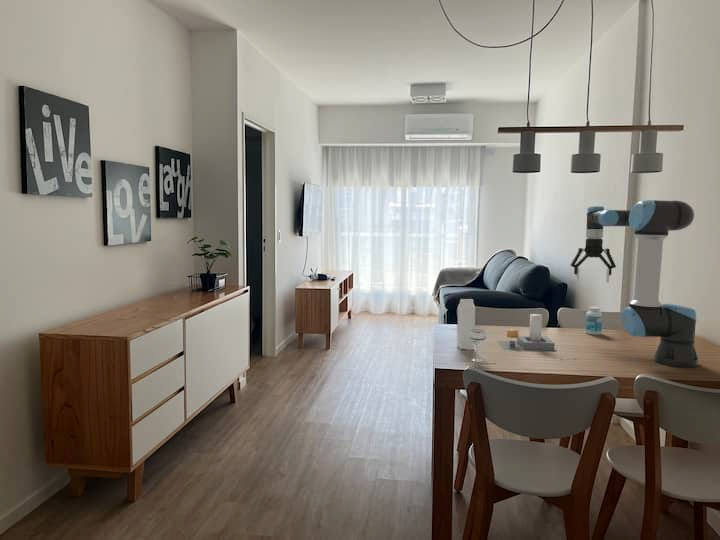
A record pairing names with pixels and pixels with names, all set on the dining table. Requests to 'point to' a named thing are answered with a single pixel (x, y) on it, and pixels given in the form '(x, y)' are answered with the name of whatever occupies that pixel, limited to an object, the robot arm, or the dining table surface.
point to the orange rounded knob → (512, 333)
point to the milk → (465, 323)
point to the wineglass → (477, 340)
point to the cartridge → (535, 327)
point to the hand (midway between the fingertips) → (592, 281)
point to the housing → (528, 344)
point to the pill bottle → (593, 321)
